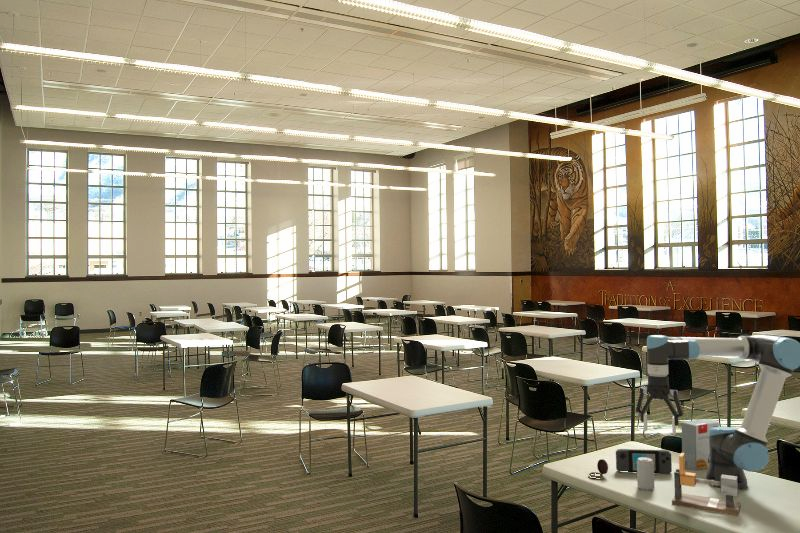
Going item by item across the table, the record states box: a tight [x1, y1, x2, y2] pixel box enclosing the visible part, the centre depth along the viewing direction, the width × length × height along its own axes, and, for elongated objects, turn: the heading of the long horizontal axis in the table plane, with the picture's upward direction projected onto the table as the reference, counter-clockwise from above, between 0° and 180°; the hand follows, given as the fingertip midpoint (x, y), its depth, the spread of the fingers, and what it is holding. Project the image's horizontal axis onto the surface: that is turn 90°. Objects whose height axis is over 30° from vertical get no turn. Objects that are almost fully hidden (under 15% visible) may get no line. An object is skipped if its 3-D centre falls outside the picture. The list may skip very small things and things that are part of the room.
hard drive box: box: [681, 418, 720, 471], centre depth 272 cm, size 16×8×20 cm, turn 114°
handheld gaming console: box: [615, 448, 673, 475], centre depth 265 cm, size 23×3×10 cm, turn 80°
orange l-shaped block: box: [678, 452, 697, 488], centre depth 230 cm, size 5×5×11 cm
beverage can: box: [636, 457, 655, 492], centre depth 246 cm, size 6×6×12 cm
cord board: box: [671, 468, 741, 517], centre depth 226 cm, size 10×22×12 cm, turn 56°
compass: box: [588, 458, 609, 480], centre depth 260 cm, size 8×8×7 cm
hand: (659, 432), depth 235 cm, fingers open, 10 cm apart
